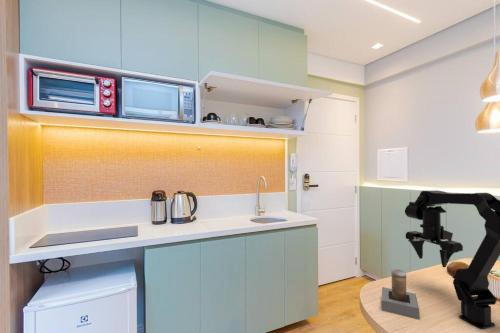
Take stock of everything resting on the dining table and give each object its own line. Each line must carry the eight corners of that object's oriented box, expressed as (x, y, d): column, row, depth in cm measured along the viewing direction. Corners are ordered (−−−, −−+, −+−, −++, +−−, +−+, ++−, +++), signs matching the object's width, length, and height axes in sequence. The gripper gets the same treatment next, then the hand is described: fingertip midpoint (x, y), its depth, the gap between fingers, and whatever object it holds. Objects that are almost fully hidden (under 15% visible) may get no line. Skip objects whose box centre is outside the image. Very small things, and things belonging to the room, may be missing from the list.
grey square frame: (415, 303, 91) (415, 293, 91) (419, 319, 81) (419, 308, 82) (382, 295, 96) (382, 286, 96) (381, 310, 87) (381, 300, 87)
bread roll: (473, 283, 114) (471, 265, 117) (479, 281, 106) (476, 262, 109) (446, 278, 119) (444, 261, 122) (449, 276, 111) (448, 258, 114)
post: (408, 306, 89) (407, 271, 89) (405, 311, 86) (404, 275, 86) (393, 301, 92) (393, 268, 92) (390, 306, 89) (389, 272, 89)
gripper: (473, 226, 89) (474, 269, 89) (424, 216, 107) (425, 252, 107) (450, 228, 86) (451, 273, 86) (404, 218, 104) (404, 255, 104)
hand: (432, 262), depth 96 cm, fingers open, 9 cm apart
